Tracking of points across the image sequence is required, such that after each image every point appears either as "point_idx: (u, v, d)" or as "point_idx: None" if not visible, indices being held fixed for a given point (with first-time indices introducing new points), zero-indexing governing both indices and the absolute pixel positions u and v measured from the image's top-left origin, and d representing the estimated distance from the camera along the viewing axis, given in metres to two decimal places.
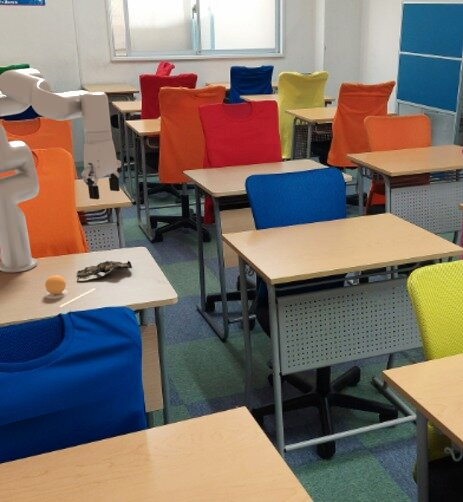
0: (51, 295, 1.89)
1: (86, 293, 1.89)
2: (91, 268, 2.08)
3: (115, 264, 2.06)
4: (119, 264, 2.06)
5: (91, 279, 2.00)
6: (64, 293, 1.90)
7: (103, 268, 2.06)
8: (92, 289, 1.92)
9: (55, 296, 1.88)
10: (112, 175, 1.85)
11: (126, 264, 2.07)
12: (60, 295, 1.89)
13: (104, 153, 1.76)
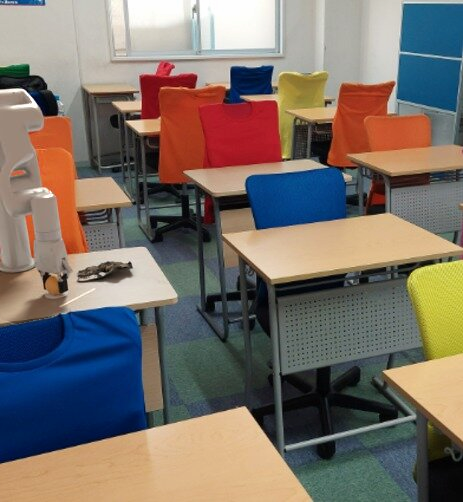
0: (51, 295, 1.89)
1: (86, 293, 1.89)
2: (92, 268, 2.08)
3: (116, 264, 2.06)
4: (120, 264, 2.06)
5: (91, 279, 2.00)
6: (64, 293, 1.90)
7: (104, 268, 2.06)
8: (92, 289, 1.92)
9: (55, 296, 1.88)
10: (45, 273, 1.89)
11: (127, 264, 2.07)
12: (60, 295, 1.89)
13: None
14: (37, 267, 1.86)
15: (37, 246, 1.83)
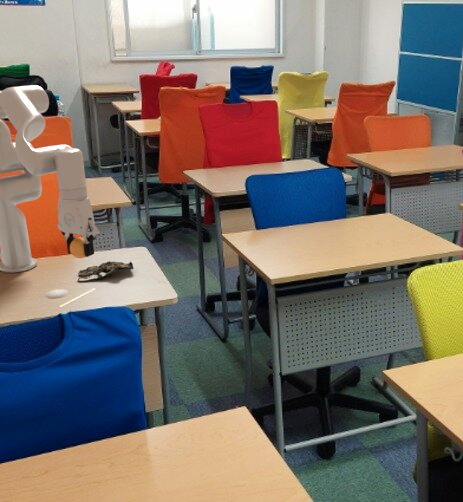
0: (51, 295, 1.89)
1: (86, 293, 1.89)
2: (93, 268, 2.08)
3: (117, 265, 2.06)
4: (121, 265, 2.06)
5: (92, 279, 2.00)
6: (64, 293, 1.90)
7: (105, 268, 2.06)
8: (92, 289, 1.92)
9: (55, 296, 1.88)
10: (69, 236, 1.78)
11: (128, 265, 2.06)
12: (60, 295, 1.89)
13: None
14: (61, 229, 1.75)
15: (62, 205, 1.73)
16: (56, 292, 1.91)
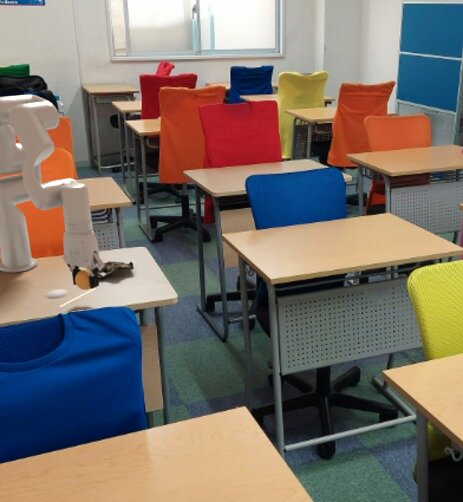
0: (51, 295, 1.89)
1: (86, 293, 1.89)
2: None
3: (117, 265, 2.05)
4: (121, 265, 2.06)
5: None
6: (64, 293, 1.90)
7: (105, 268, 2.06)
8: (92, 289, 1.92)
9: (55, 296, 1.88)
10: (75, 268, 1.81)
11: (128, 265, 2.06)
12: (60, 295, 1.89)
13: None
14: (67, 261, 1.79)
15: (67, 239, 1.76)
16: (56, 292, 1.91)
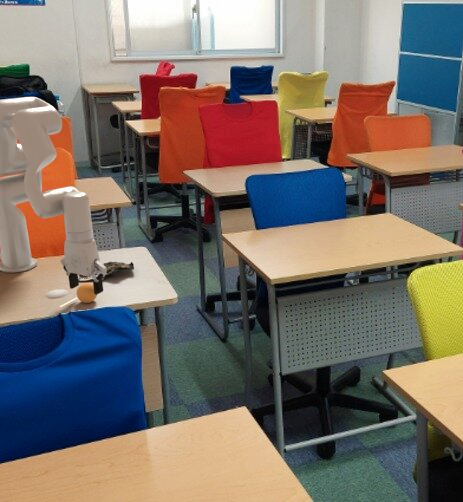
0: (51, 295, 1.89)
1: None
2: None
3: (117, 265, 2.05)
4: (121, 265, 2.05)
5: (92, 279, 2.00)
6: (64, 293, 1.90)
7: None
8: None
9: (55, 296, 1.88)
10: (72, 272, 1.83)
11: (128, 265, 2.06)
12: (60, 295, 1.89)
13: None
14: (68, 269, 1.80)
15: (68, 247, 1.77)
16: (56, 292, 1.91)
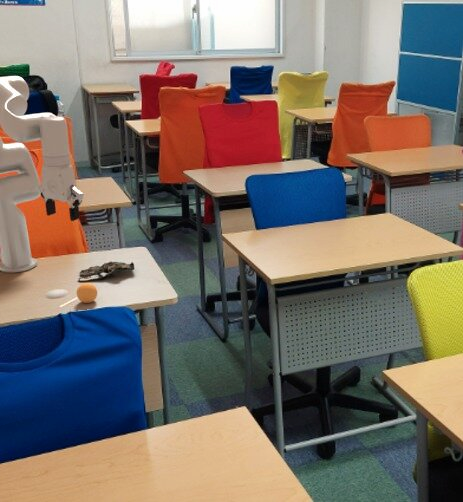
0: (51, 295, 1.89)
1: None
2: (95, 268, 2.08)
3: (118, 265, 2.05)
4: (122, 265, 2.05)
5: (92, 279, 2.00)
6: (64, 293, 1.90)
7: (106, 268, 2.06)
8: None
9: (55, 296, 1.88)
10: (49, 199, 1.84)
11: (129, 265, 2.06)
12: (60, 295, 1.89)
13: None
14: (44, 195, 1.81)
15: (45, 172, 1.78)
16: (56, 292, 1.91)
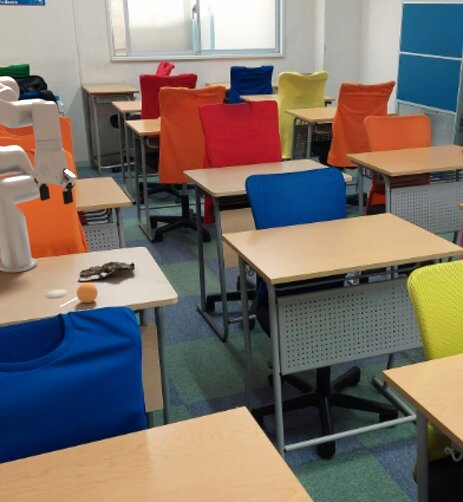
0: (51, 295, 1.89)
1: None
2: (95, 268, 2.08)
3: (118, 265, 2.05)
4: (122, 265, 2.05)
5: (92, 279, 2.00)
6: (64, 293, 1.90)
7: (106, 269, 2.06)
8: None
9: (55, 296, 1.88)
10: (42, 184, 1.86)
11: (129, 266, 2.06)
12: (60, 295, 1.89)
13: None
14: (38, 179, 1.83)
15: (38, 157, 1.80)
16: (56, 292, 1.91)
